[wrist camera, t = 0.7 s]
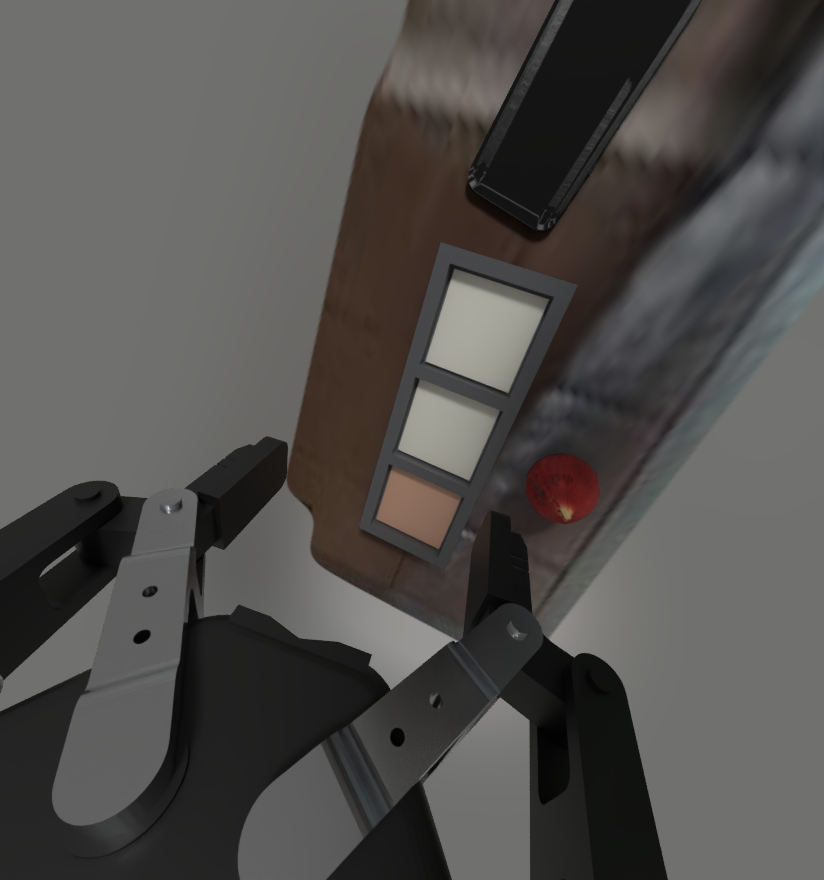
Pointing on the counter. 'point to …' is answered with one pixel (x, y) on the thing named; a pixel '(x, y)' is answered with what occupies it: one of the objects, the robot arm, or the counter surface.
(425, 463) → the keypad
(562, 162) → the phone
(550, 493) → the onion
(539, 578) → the counter surface
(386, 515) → the terracotta key
